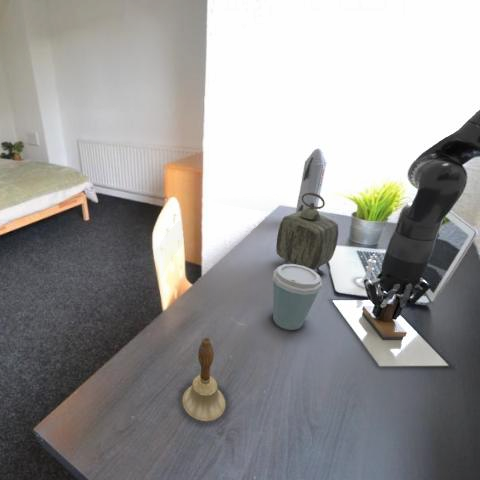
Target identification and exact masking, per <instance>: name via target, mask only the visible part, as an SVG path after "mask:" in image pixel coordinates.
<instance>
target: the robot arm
mask: <svg viewBox="0 0 480 480" xmlns="http://www.w3.org/2000/svg"><path fill="white" fill-rule="evenodd" d="M475 158H480V108H478V109H477V110H476V111H475V112H474V113H473V114H472V115H471V116H470V117H469V118H467V119H466V121H464V122H463V123H462V124H461V125H460V126H459V127H458V128H456V130H454V131H453V132H451V133H449V134H448V135H446V136H444V137H443V138H442V139H439V141H437V142H436V143H434V144H432V145H431V146H430V147H429V148H427V149H425V150H424V151H422V153H420V154H419V155H418V156H417V157H416V158H415V159H414V160H413V162H412V163H411V164H410V165H409V167H408V170H407V176H406V177H407V180H408V182H409V183H410V184H411V186H413V187H414V188H415V189H416V190H417V192H416V194H415V196H414V198H413V200H412V202H408V203H406V204H405V205H403V206H402V209H401V210H400V211H399V215H398V217H397V221H396V224H395V226H394V230H393V232H392V234H391V236H390V238H389V240H388V243H387V247H386V249H385V253H384V256H383V259H382V262H381V270H380V272H379V274H378V275H377V276H376V278H374V279H370V280H369V279H365V280H364V285H365V288H364V290H365V292H366V297H367V300H370V301H371V302H372V303H373V304H374V308H373V311H372V313H373V315H374V316H375V317H376V318H377V319H378V320H381V319H382V317H383V314H384V311H385V309H386V307H385V306H386V305H387V303H388V301H389V300H392V299H394V300H396V301H397V306H396V309H395V311H394V314H393V317H392V319H393V320H396V319H397V317H399V316H401V313H402V311H403V308H405V307H406V306H407V305H409V306H414V305H415V304H416V303H417V302H418V301H419V300H420V299H421V298H422V297H423V296H424V295H425V294H426V293H427V292H428V291H429V290H430V289H431V287H432V285H431V284H430V283H429V282H428V281H426V280H425V279H424V278H423V276H424V274H425V272H426V271H427V270H426V269H427V267H428V265H429V262H430V259H431V257H432V255H433V252H434V249H435V245H436V240H437V238H438V235H439V232H440V231H441V228H442V225H443V221H444V219H445V218H446V216H447V215H448V214H449V213H450V212H451V211H452V209H453V208H454V207H455V205H456V204H457V203H458V201H459V200H460V198H461V197H462V196H463V194H464V192H465V190H466V187H467V184H468V172H467V169H466V167H465V166H464V165H465V164H467V163H468V162H470V161H472V160H473V159H475Z"/></svg>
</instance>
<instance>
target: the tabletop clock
mask: <svg viewBox="0 0 480 480" xmlns="http://www.w3.org/2000/svg"><path fill="white" fill-rule="evenodd" d="M306 195H313V196H316V197H318V198H319V200H320V201H321V202H322V205H320V206H318V207H316V206H314V203H310V205H309V204H307V203H306V202H305V201H304V200H303V198H304V196H306ZM302 202H303V203H304V204H305V205H306V206H308V207H310V208H306V209H304V210H303V211H298V212H296V211H295V212H293V213H291V214H287V215H284V216H283V218H282V219H281V221H280V225H279V227H278V231H277V236H276V245H275V246H276V247H275V248H276V255H278V256H279V257H280V258H281V259H283V260H285V261H287V262H288V263H289V264H296V265H301V266H305V267H307V268H310V269H312V270H314V271H315V270H317V272H316V273H317V274H318V275H319V276H323V275H324V271H323V270H321V269H320V267H322V266H324V265H326V264H328V263H329V262H330V261H331V260H332V258H333V256H334V254H335V252H336V248H337V246H338V245H337V244H338V241H339V240H338V238H339V224H338V223H337V222H336V221H335V220H333V219H332V218H329V217H327V216H324V215H322V214H320V212H319V210H321V209H322V208H324V207H325V205H326V202H325V200H324V198H323V197H322V196H321V194H320V195H318V194H315V193H305V194H304V195H303V196H302ZM316 209H317V210H316Z"/></svg>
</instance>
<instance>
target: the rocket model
mask: <svg viewBox="0 0 480 480" xmlns="http://www.w3.org/2000/svg"><path fill="white" fill-rule="evenodd" d="M326 168H327V162H326V158H325V155H324V153H323V150H322V149H320V148H315V149H313V151H312V152H311V154H310V155H309V156H308V158H306V160H305V161H304V166H303V171H302V176H301V182H300V188H299V193H298V198H297V204H296V210H295V213H296V212H298V211H303V210H304V209H306V208H310V207H308V206H306V205H305V204H304V203H303V202H302V196H303V195H304V194H305V193H315V194H318V195H320V196H321V192H322V188H323V181H324V177H325V172H326ZM303 200H304V201H305V202H306V203H307V204H309V205H310V203H314V206H316V207H319V202H320V198H318V197H316V196H313V195H306V196H304V198H303ZM316 210H317V211H318V209H316Z"/></svg>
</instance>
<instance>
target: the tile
mask: <svg viewBox="0 0 480 480" xmlns="http://www.w3.org/2000/svg"><path fill="white" fill-rule="evenodd" d="M331 302H332V303H333V305H334V306H335V307H336V309H337V310H338V312H339V313H340V314H341V316H342V317H343V319H344V320H345V321H346V323H347V324H348V326H349V327H350V328H351V330H352V331H353V332H354V334H355V335H356V337H357V338H358V339H359V341H360V342H361V343H362V345H363V346H364V347H365V349H366V350H367V351H368V353H369V354H370V356H371V357H372V358H373V360H374V361H375V363H376V364H377V365H378V367H379V368H380V367H381V368H383V367H449V366H450V365H449V364H448V363H447V362H446V361H445V360H444V359H443V358H442V356H440V354H438V353H437V351H435V350H434V348H432V346H431V345H430V344H429V343H428V342H427V341H426V340H425V339H424V338H423V337H422V336H421V335H420V334H419V333H418V332H417V331H416V330H415V328H413V327H412V326H411V325H410V324H409V323H408V321H407V320H406V319H405V318H404V317H402V315H400V316H399V317H397V319H396V321H397V322H398V323H399V324H400V325H401V326H402V327H403V328H404V329H405V330H406V331H407V334H406V337H403V340H382V339H381V337H380V336H379V335H378V334H377V332H376V331H375V330H374V329H373V328H372V326H371V325H370V324H369V323H368V321H367V320H366V319H365V318H364V316H363V315H362V312H363V311H362V308H363V306H374V304H373V303H372V302H371V301H370V300H369V299H355V300H353V299H352V300H351V299H350V300H348V299H346V300H344V299H341V300H331Z"/></svg>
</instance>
